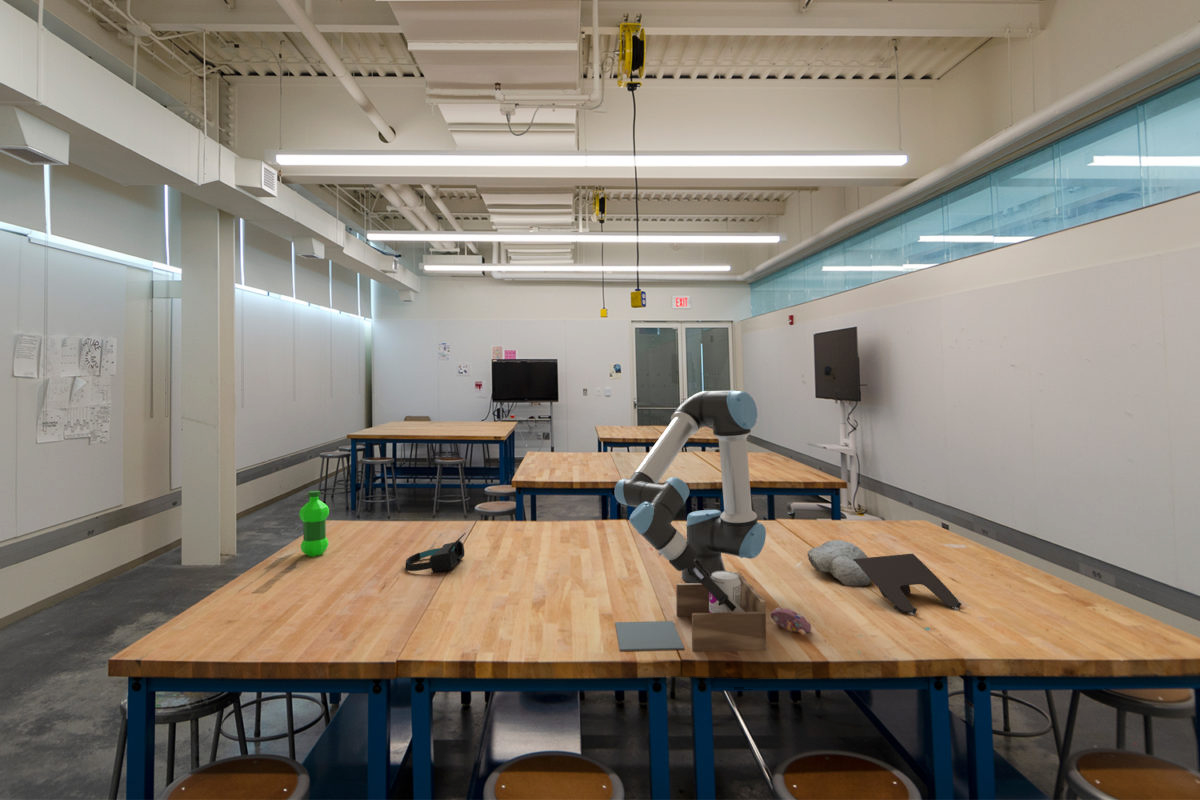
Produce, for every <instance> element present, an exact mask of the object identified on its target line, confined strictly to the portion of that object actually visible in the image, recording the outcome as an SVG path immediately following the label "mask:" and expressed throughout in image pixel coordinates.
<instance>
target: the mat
mask: <svg viewBox="0 0 1200 800" xmlns="http://www.w3.org/2000/svg"><path fill="white" fill-rule="evenodd" d="M614 625H615V631H616V637H617V641H618V647H619V652H622V651H627V652H628V651H665V650H667V651H668V650H685V647H684V644H683V643H682V640H681V637H680V635H679V633H678V630H677V628H676V625H675V623H674V621H673V620H657V621H656V620H654V621H653V620H652V621H650V620H649V621H615V623H614Z"/></svg>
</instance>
